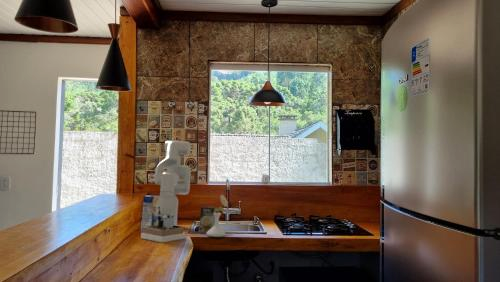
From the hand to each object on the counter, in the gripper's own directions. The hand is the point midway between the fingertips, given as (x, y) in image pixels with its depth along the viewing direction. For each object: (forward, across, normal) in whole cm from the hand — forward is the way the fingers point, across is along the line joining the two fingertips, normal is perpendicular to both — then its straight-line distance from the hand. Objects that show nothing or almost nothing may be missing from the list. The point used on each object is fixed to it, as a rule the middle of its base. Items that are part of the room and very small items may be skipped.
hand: (164, 226), depth 195 cm
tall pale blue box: (+1, 0, 0) cm, 1 cm away
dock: (+6, 0, 0) cm, 6 cm away
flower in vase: (+6, -28, +16) cm, 33 cm away
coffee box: (+6, -34, +3) cm, 35 cm away
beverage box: (+6, -6, -18) cm, 20 cm away
